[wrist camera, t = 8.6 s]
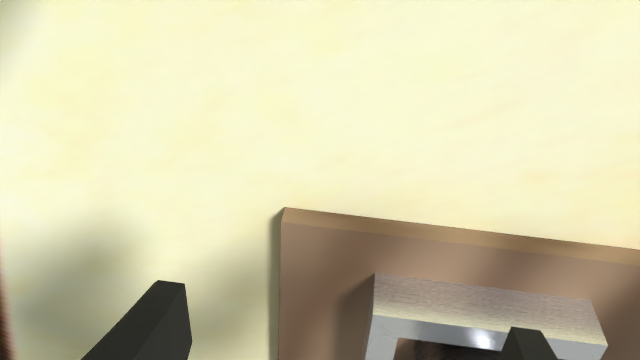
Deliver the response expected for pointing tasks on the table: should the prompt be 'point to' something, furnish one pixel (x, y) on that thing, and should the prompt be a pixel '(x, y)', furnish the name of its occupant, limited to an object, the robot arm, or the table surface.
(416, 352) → the cylinder
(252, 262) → the table surface
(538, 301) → the square metal frame
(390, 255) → the walnut base plate
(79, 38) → the table surface
